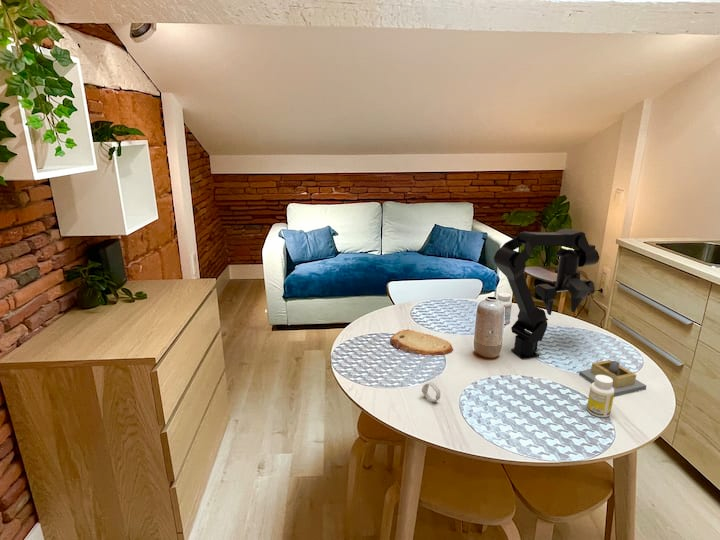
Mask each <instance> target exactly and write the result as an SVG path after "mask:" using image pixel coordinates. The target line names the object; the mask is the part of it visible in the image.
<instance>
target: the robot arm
mask: <svg viewBox="0 0 720 540" xmlns="http://www.w3.org/2000/svg"><path fill="white" fill-rule="evenodd" d="M522 246H524V247H523V249H522V251H517V249H519V248H521V247H522ZM535 247H561V248H560V249H559V250H557V251H555V253H554V255H555V256H558V258H559V259H558V266H557V269H554V273H555V274H556V280H553V282H552V284H553V285H554V286H551V285H550V284H548V283H541V284H537V285H535V288H534V293H535V294H537V296H539V297H540V298H541V300H542V302H543V305H544V307H545V310H546V311H545V310H544V309H541V308H539V307H538V306H536V305H535V303H534V299H533V296H532V294H531V291H530V287H529V286H528V282H527V280H526V277H525V274H524V272H525V270H526V263H527V262H528V260H529V259H530V258H531V256H532V253H533V249H534V248H535ZM563 247H564V248H563ZM567 248H568V249H567ZM599 260H600V254H599V252H598V250H597V249H596V245H594V244H592V243H590V244H589V242H588V239H587V237H586V233H585V232H583V231H579V230H575V229H570V228H562V229H558V230H557V231H554V232H553V231H552V232H548V231H547V232H544V231H543V232H542V231H541V232H537V231H536V232H535V231H532V232H531V231H521V232H519V233H518V235H516V237H514V238H512V239H510V240H508V241H506V242H505V243H504V244H503V245H501V247H500V248H499V249H498V250H496V252H495V255H494V256H493V261H494V264H495V266H496V267H497V269H498V270H499V271H500V272H501V273H502V274H503V275H504V276H505V277H506V278H507V282H508V283H509V288H510V289H511V292H512V295H513V297H514V299H515V302H516V305H517V307H518V310H519V311H518V314H517V320H516V321H515V323H513V325H512V326H511V327H510V329H511V333H512V334H514V335H515V338H514V344H513V345H514V347H513V348H510V351H511V352H512V353H513V354H515V355H516V356H517V357H518V358H520V359H521V360H527V359H532V358H536V357H537V358H538V357H539V356H540V355H539V353H538V352H537V351H538V345H539V342H541V341H542V340H543V338H544V336H545V334H546V331H547V328H548V321H549V319H548V318H547V315H549V316H551V315H552V313H553V306H554V302H555V301H556V300H557V297H556V296H557V293H565V292H569V294H570V309H571V310H570V311H571V312H572V313H575V312H576V311H577V309H578V307H579V305H580V304H581V302H582V301H583V299H584V298H587V297H589V296H591V294H595V290H596V289H595V283H594V281H593V280H582V279H581V273H579V272H578V268H579V267H580V268H581V267H588V266H594V265H596V264H598V262H599ZM546 312H547V315H546Z"/></svg>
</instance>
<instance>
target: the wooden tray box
mask: <svg viewBox="0 0 720 540" xmlns="http://www.w3.org/2000/svg"><path fill="white" fill-rule="evenodd" d="M611 361H612V360H611V359H606V360H604V361H603V360H602V361H601V360H600V361H597V362H592V363H591V368H590V369H591V373H593V374H594V375H606V376H609V377H610V378H612V379H613V384H612V386H613V387H615V388H620V387H625V386H629V385H634V384H635V379H636V380H637V374H636V373H634V372H632V371H630V370H628V369H626V368H625V367H623V366H621V365H620V364H619V369H618V374H617V375H615V374H614V373H612V372H610V371H609V368H610V363H611Z"/></svg>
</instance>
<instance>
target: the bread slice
mask: <svg viewBox="0 0 720 540" xmlns="http://www.w3.org/2000/svg"><path fill="white" fill-rule="evenodd" d="M390 343H391V344H390ZM389 344H390V345H392V344H393V345H392V346H393V347H395V348H396V349H397V348H398V349H397V350H399V349H400V351H401V350H402V351H401V352H405V353H408V352H409V353H408V354H412V353H413V355H419V354H421V356H425V355H432V356H431V357H434V356H433V355H441V356H446V354H447V355H448V354H451V353H453V352H454V348H453V347H452V343H450V342H449V341H448V340H446V339H444V338H441V337H437V336H434V335H432V334H428V333H424V332H420V331H415V330H413V329H412V330H411V329H403V330H400V331H398V332H396V333H394V334H393V335H392V336H391V337H390V340H389ZM452 351H453V352H452Z"/></svg>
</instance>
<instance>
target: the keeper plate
mask: <svg viewBox="0 0 720 540" xmlns="http://www.w3.org/2000/svg"><path fill="white" fill-rule="evenodd" d="M619 365H620V363H619V362H618V361H615V360H611V363H610V368H609V371H610V372H612V373H614V374H615V375H617V374H618V369H619ZM578 375H579V376H580V377H582V378H583V379H584V380H586V381H587V382H589V383H590V384H592V383H593V382H594V380H595V376H596V375H594V374H593V373H591V368H588V369H584V370H579V372H578ZM612 387H613V386H612ZM613 389H614V397H617V396H622V395H627V394H631V393H635V391H636V392H639V390H640V391H643V390H644V389H645V390H646V389H647V385H646V384H645V383H643V382H641V381H639V379H637V378H636V379H635V384H634V385H629V386H625V387H620V388H615V387H613ZM645 390H644V391H645Z"/></svg>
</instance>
